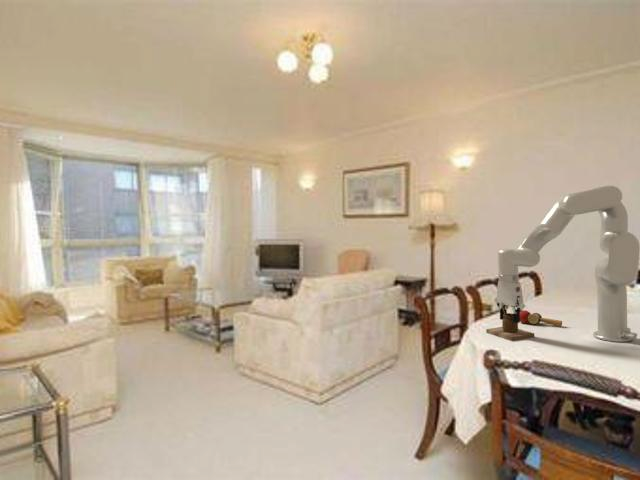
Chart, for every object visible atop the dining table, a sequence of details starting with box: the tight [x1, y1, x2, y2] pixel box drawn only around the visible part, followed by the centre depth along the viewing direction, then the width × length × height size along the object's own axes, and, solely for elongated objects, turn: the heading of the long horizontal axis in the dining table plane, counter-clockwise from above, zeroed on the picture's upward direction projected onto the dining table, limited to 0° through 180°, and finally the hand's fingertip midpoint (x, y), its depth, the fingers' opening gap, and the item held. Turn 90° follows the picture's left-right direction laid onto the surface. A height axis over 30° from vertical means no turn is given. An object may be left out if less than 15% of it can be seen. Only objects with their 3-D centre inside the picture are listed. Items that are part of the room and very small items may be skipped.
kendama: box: [519, 309, 563, 328], centre depth 185 cm, size 8×6×18 cm
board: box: [485, 326, 535, 342], centre depth 170 cm, size 14×12×2 cm
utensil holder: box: [501, 303, 519, 333], centre depth 170 cm, size 6×6×12 cm
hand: (509, 320), depth 170 cm, fingers open, 6 cm apart
